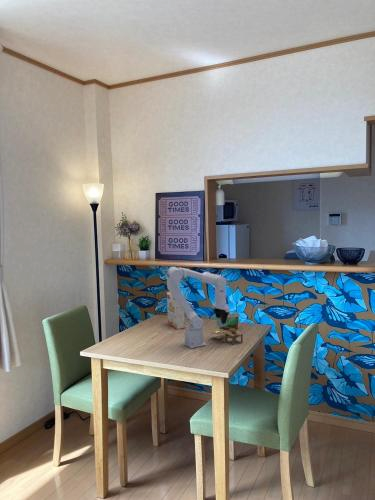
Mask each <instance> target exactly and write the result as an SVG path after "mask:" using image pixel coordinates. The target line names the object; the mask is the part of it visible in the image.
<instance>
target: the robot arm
mask: <svg viewBox="0 0 375 500" xmlns="http://www.w3.org/2000/svg"><path fill="white" fill-rule="evenodd" d="M165 276H166V288H167V290H168V292H170V293H171V294H172V296H173V297H174V299H175V300H176V301H177V303H178V304H179V306H180V307H181V309H182V310H183V311H184V315H185V318H187V323H188V324H189V327H188V329H186V330H184V345H185V346H187V347H189V348H190V349H193V348H198V347H203V346H207V343H205V342H204V328H203V327H204V325H205V322H204V320H203V318H201V317H200V316H198V314H197V312H196V311H194V308H193V307H191V304H190V303H189V301H187V299H186V297H185V295H184V294H183V293H182V291H181V290H180V288H179V284H180V282H181V280H182V279H185V278H187V277H190V278H193V279H194V278H195V279H199V280H201V283H204V284H207V285H211V286H214V298H215V300H214V301H215V303H212V308H214V309H212V311H213V312H214V315H215V317H216V319H217V318H219V317H221V321H222V324H225V323H226V320H227V316H228V314H229V313H231V312H230V311H231V308H230V307H229V305H228V304H227V294H226V293H227V292H226V286H227V284H228V281H227V279H226V278H225V277H224V276H222V275H219V274H217V273H215V274H214V273H211V272H210V271H204V272H202V273H201V272H198V271H195V270H191V269H188V268H184V267H180V266H179V267H176V266H171V267H169V268H168V269H167V272H166V274H165ZM183 295H184V296H183Z"/></svg>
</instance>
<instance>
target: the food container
mask: <svg viewBox="0 0 375 500" xmlns="http://www.w3.org/2000/svg"><path fill="white" fill-rule="evenodd" d="M239 318H240V313H239V312H236V313H233V312H229V314H228V316H227V326H222V329H223V330H224V331H226V330H229V328H235V329H236V330H238V329H239Z"/></svg>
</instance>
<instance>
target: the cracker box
mask: <svg viewBox="0 0 375 500" xmlns="http://www.w3.org/2000/svg"><path fill="white" fill-rule="evenodd" d="M183 296H184V297H185V295H184V294H183ZM166 303H167V304H166V305H167V306H166V307H167V324H168V325H169V326H171V327H173V328H174V329H176V330H180V329H185V328H186V321H185V320H186V319H185V318H186V316H185V313H184V311H183V310H182V309H181V307H180V306H179V304H178V303H177V301H176V300H175V299H174V297H173V296H172V294H171V293H170V291H167V292H166Z"/></svg>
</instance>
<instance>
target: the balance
mask: <svg viewBox="0 0 375 500" xmlns="http://www.w3.org/2000/svg"><path fill="white" fill-rule="evenodd" d="M232 329H233V328H229V330H224V329H223V328H212V329H210V330H209V333H211V334H216V336H213V339H215V340H216V341H220V340H225V333H228V332H232ZM236 331H237V332H239V333H240V330H238V329H236ZM217 334H218V335H217ZM220 334H221V335H220ZM229 338H230V339H231V338H232V336H229V335H227V339H229Z"/></svg>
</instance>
